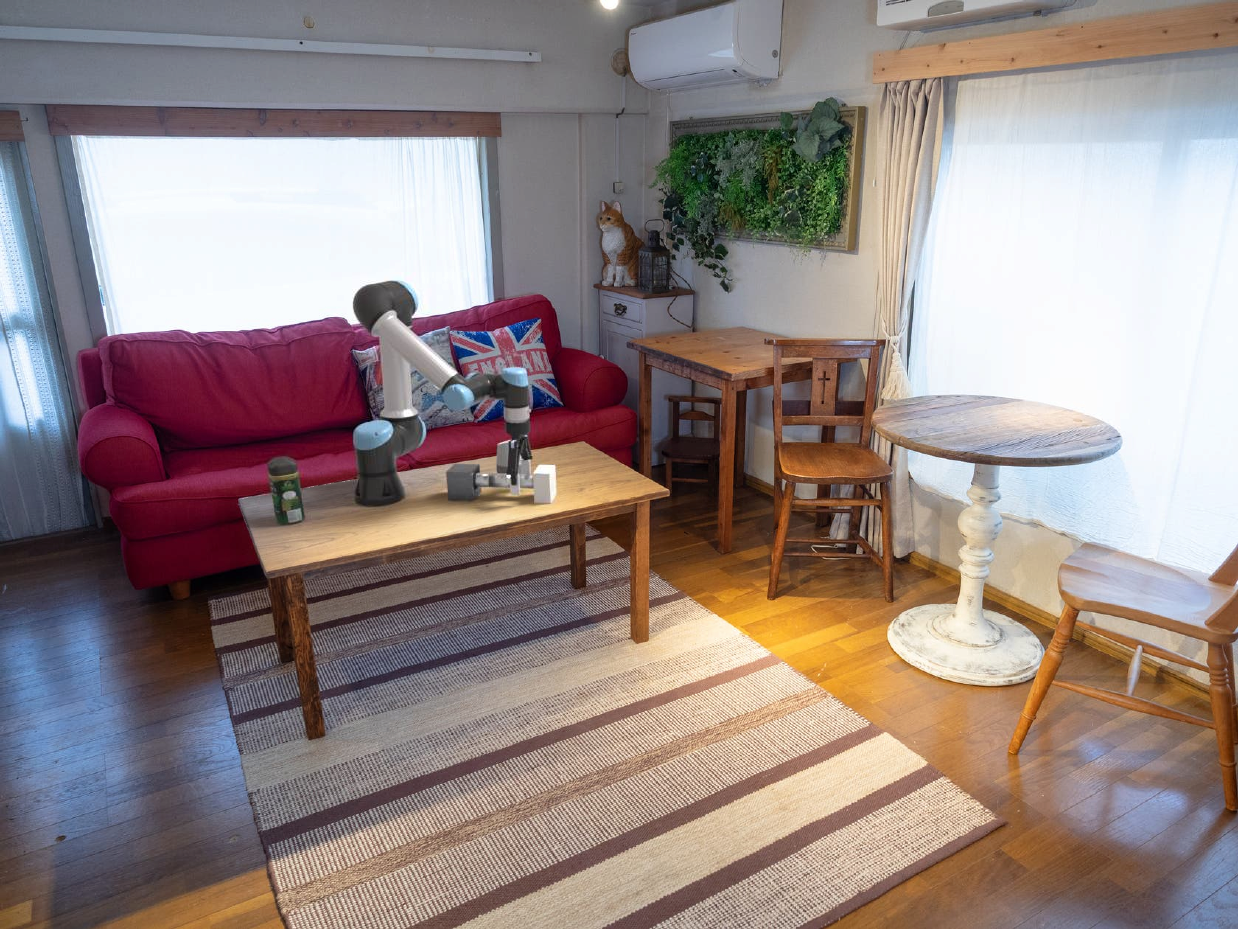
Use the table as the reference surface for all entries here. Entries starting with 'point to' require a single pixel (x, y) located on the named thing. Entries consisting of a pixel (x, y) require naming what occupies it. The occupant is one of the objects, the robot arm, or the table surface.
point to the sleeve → (462, 482)
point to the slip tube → (501, 480)
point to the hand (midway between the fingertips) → (521, 487)
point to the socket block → (544, 484)
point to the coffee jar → (286, 490)
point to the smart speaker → (504, 458)
